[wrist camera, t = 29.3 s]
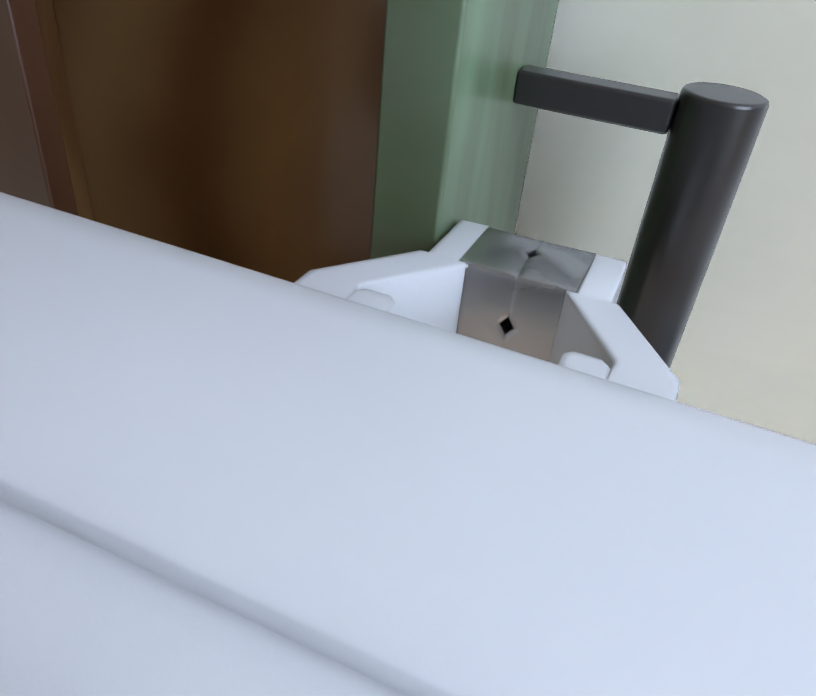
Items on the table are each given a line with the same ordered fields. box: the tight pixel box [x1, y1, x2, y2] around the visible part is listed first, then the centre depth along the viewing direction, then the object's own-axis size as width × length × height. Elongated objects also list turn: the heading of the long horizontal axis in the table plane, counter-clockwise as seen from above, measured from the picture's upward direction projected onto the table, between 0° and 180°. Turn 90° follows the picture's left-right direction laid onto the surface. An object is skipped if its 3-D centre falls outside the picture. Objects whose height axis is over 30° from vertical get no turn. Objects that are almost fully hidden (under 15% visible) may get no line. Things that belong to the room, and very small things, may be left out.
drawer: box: [36, 0, 769, 368], centre depth 15 cm, size 18×13×6 cm
